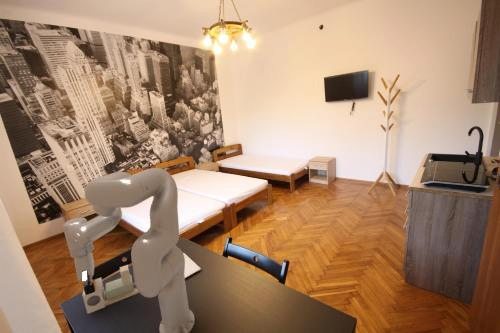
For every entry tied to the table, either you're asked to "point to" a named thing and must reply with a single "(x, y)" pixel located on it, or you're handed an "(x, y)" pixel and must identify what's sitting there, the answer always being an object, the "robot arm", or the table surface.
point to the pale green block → (121, 296)
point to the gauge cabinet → (95, 297)
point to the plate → (190, 266)
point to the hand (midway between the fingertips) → (91, 285)
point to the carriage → (120, 284)
